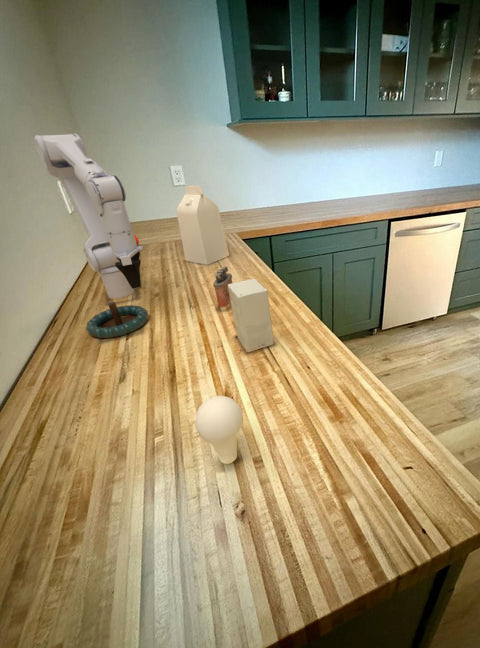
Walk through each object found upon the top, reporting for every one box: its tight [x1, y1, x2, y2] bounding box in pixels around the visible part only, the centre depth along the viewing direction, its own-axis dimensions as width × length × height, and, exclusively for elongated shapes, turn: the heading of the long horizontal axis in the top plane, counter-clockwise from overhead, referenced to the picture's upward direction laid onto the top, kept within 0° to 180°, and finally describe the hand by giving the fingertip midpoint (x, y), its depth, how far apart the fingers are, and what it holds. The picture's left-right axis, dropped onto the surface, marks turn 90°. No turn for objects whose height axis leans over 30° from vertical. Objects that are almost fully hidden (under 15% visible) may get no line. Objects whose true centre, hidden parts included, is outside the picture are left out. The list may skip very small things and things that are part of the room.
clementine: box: [134, 234, 140, 246], centre depth 145 cm, size 8×7×7 cm
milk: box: [176, 185, 230, 266], centre depth 123 cm, size 12×12×26 cm
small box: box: [228, 278, 275, 353], centre depth 72 cm, size 8×6×13 cm
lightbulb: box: [194, 395, 244, 465], centre depth 45 cm, size 6×6×11 cm
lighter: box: [212, 265, 233, 308], centre depth 90 cm, size 8×3×10 cm, turn 168°
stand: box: [99, 301, 141, 330], centre depth 82 cm, size 9×9×7 cm
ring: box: [85, 304, 149, 339], centre depth 83 cm, size 14×14×2 cm
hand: (136, 283), depth 87 cm, fingers open, 5 cm apart
